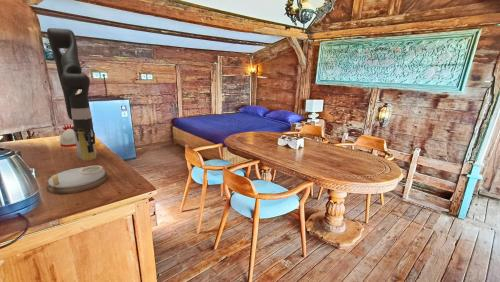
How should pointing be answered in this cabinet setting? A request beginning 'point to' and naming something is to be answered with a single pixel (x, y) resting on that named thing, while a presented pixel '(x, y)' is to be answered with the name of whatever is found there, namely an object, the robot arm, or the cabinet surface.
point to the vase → (85, 148)
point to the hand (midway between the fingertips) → (87, 151)
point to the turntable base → (76, 189)
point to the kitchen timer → (68, 137)
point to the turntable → (77, 177)
